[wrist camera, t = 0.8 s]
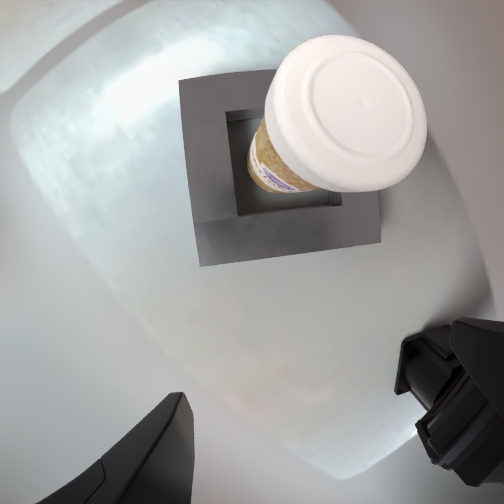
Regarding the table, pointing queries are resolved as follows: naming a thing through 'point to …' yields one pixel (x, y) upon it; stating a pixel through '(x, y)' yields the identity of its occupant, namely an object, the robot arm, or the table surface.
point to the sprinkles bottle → (338, 120)
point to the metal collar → (223, 193)
